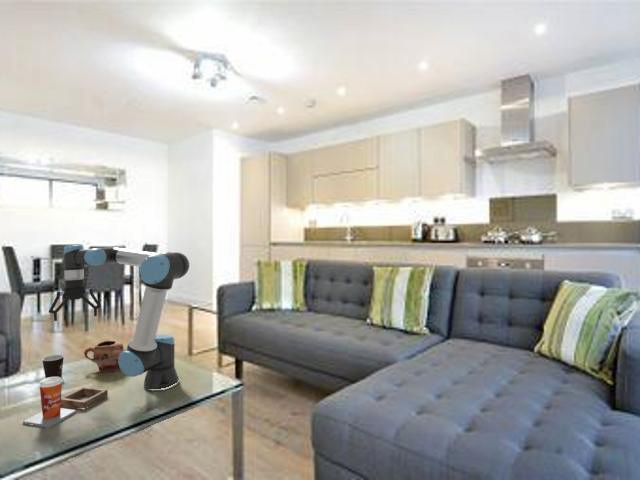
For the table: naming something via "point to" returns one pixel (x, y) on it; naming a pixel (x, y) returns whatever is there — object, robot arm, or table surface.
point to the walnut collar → (94, 392)
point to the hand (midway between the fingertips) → (76, 325)
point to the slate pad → (48, 423)
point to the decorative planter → (106, 355)
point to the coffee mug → (53, 366)
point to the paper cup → (51, 396)
